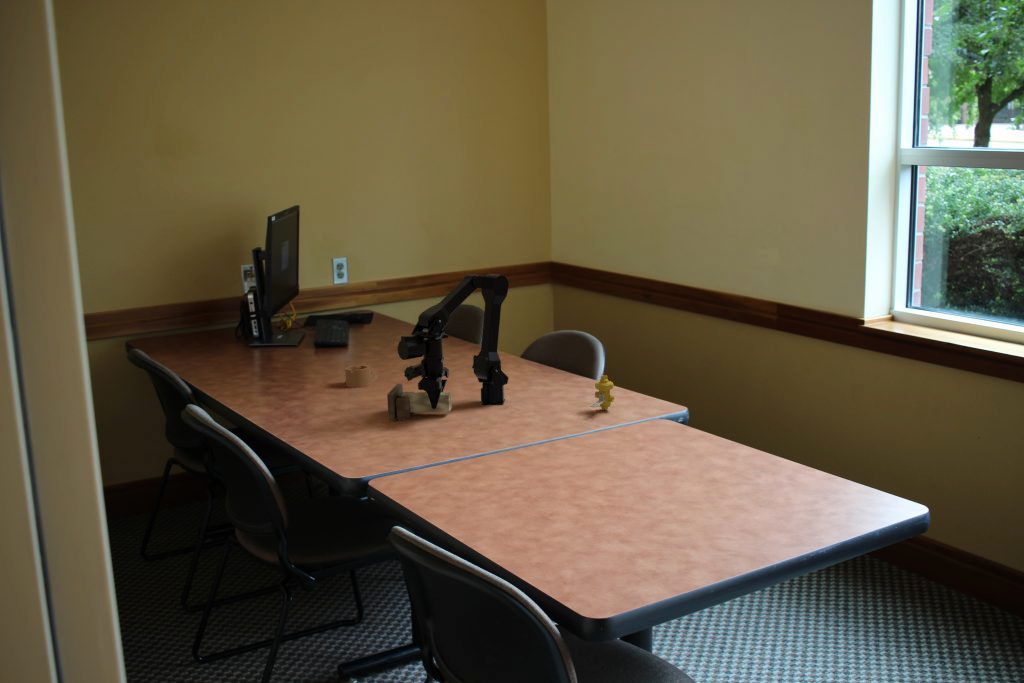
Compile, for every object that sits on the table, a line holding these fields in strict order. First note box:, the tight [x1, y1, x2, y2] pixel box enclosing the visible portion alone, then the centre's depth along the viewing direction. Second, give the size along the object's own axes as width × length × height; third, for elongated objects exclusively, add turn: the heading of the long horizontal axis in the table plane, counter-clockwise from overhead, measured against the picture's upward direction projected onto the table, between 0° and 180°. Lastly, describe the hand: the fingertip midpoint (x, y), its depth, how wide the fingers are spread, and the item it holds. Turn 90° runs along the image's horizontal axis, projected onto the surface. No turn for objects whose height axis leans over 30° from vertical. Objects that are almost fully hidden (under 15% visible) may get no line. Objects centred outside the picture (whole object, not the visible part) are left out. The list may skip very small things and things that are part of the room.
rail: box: [398, 391, 452, 413], centre depth 292 cm, size 15×4×5 cm, turn 85°
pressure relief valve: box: [589, 374, 615, 411], centre depth 289 cm, size 6×12×10 cm, turn 155°
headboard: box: [386, 383, 415, 423], centre depth 292 cm, size 6×14×8 cm, turn 175°
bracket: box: [344, 364, 380, 389], centre depth 336 cm, size 18×8×7 cm, turn 172°
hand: (435, 406), depth 292 cm, fingers closed on rail, 4 cm apart
